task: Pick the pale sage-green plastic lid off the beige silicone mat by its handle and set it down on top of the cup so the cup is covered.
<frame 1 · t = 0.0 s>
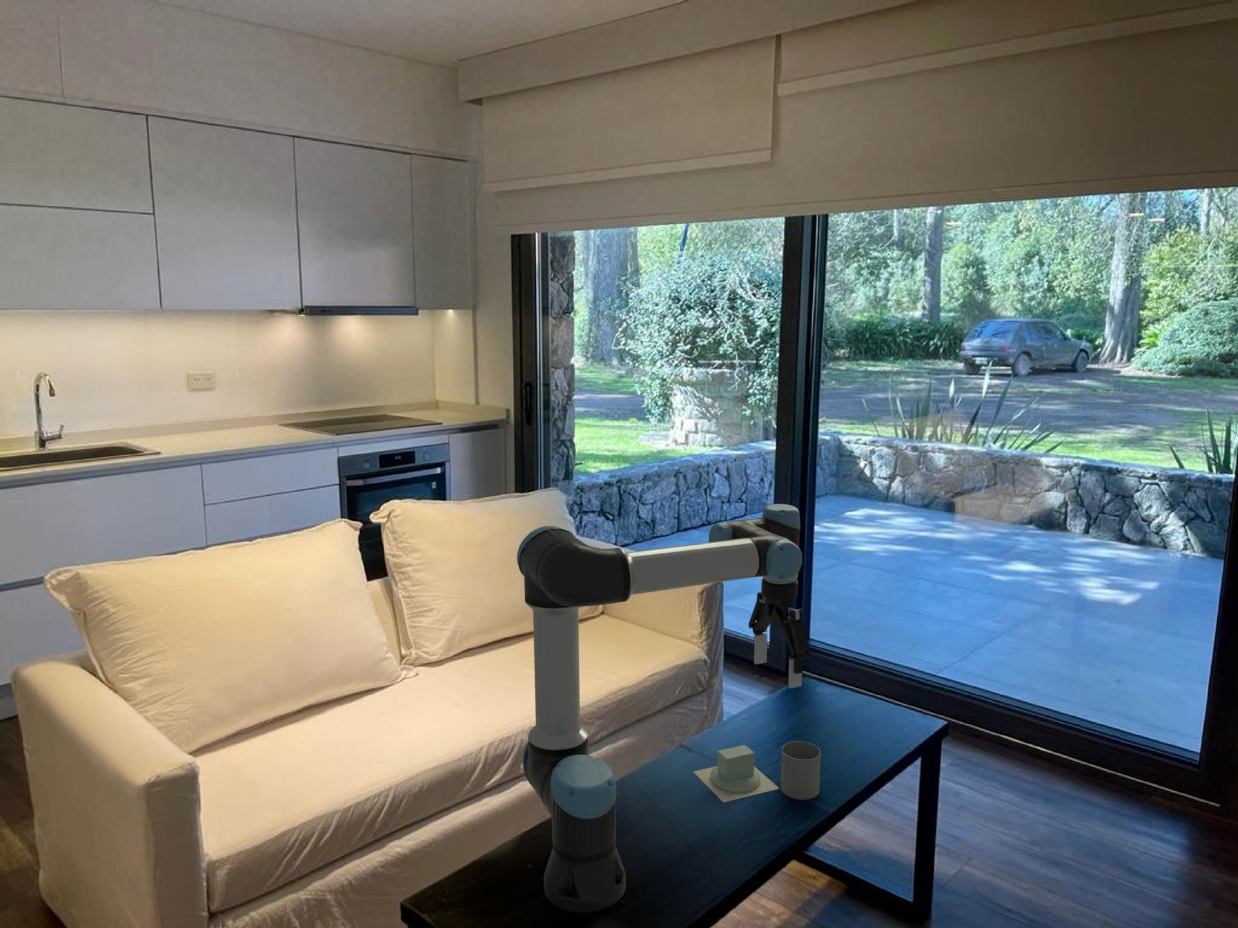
hand: (777, 674, 198), 28 cm above the table, fingers open, 13 cm apart
cup: (799, 793, 204), on the table
mat: (735, 783, 208), on the table
lid: (735, 779, 208), point 1 cm above the table, touching mat
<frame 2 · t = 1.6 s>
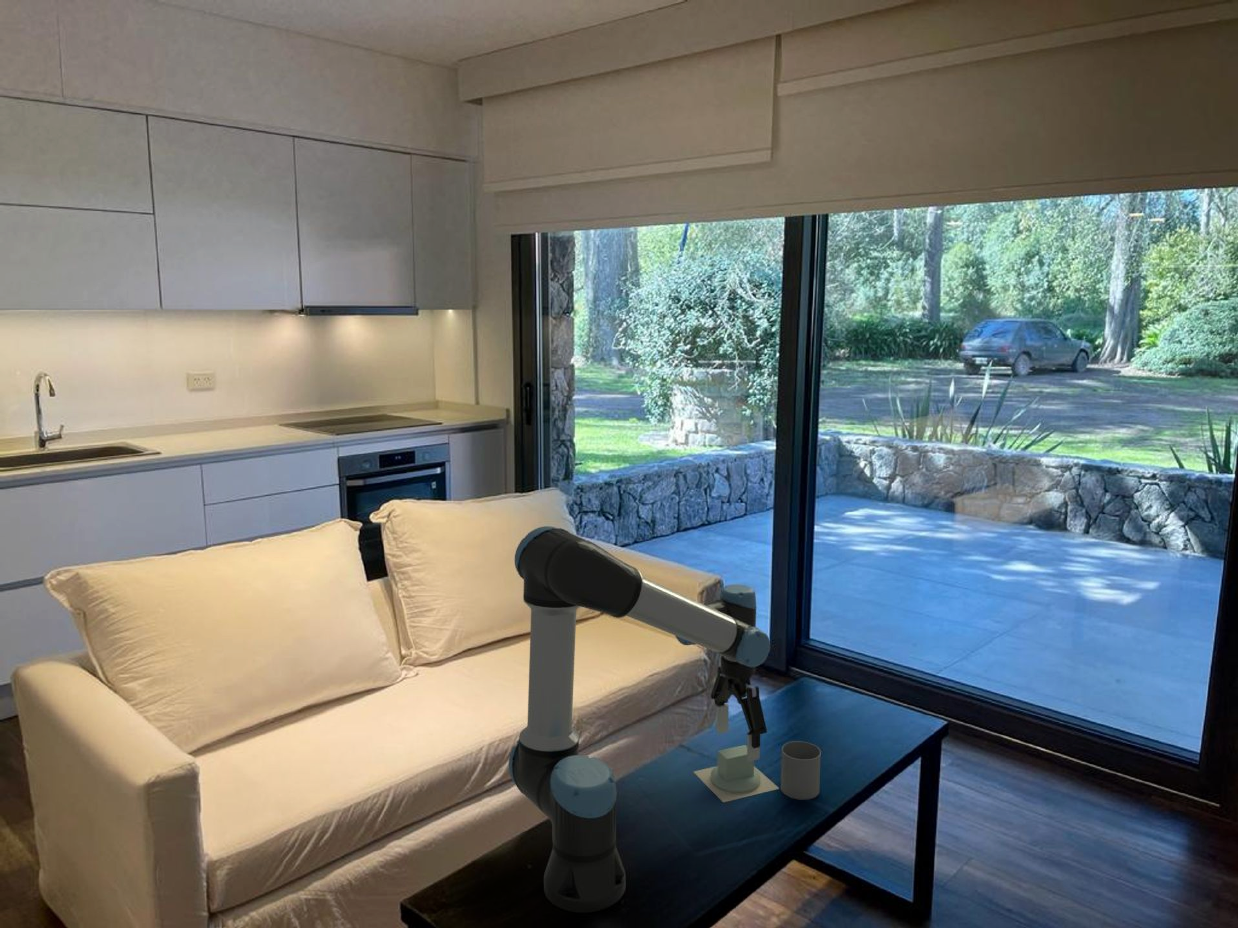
hand: (737, 745, 207), 9 cm above the table, fingers open, 13 cm apart
nothing on the table moved.
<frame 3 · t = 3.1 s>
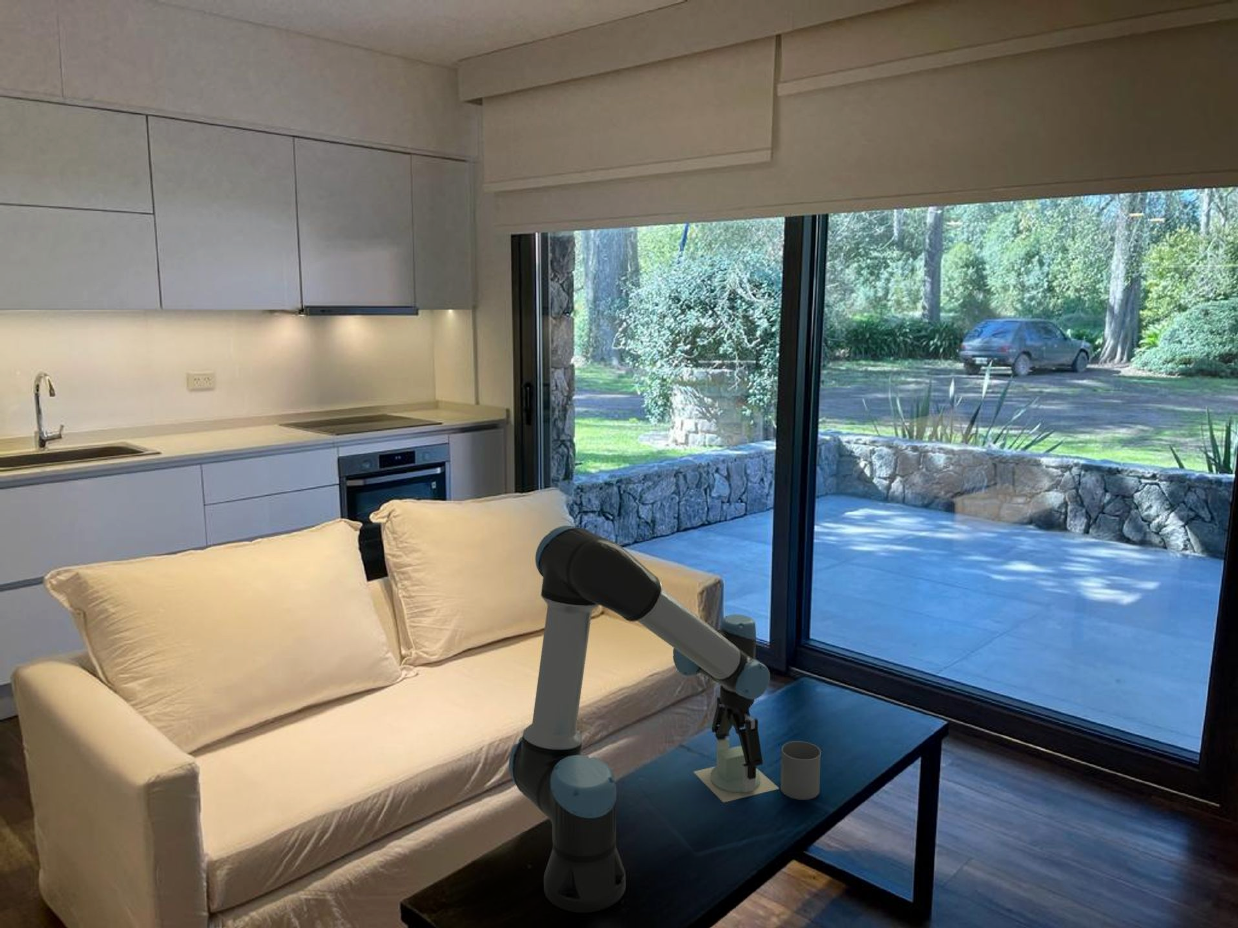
hand: (735, 777, 208), 1 cm above the table, fingers closed on lid, 11 cm apart
lid: (735, 779, 208), point 1 cm above the table, touching gripper, mat
everything else where it was.
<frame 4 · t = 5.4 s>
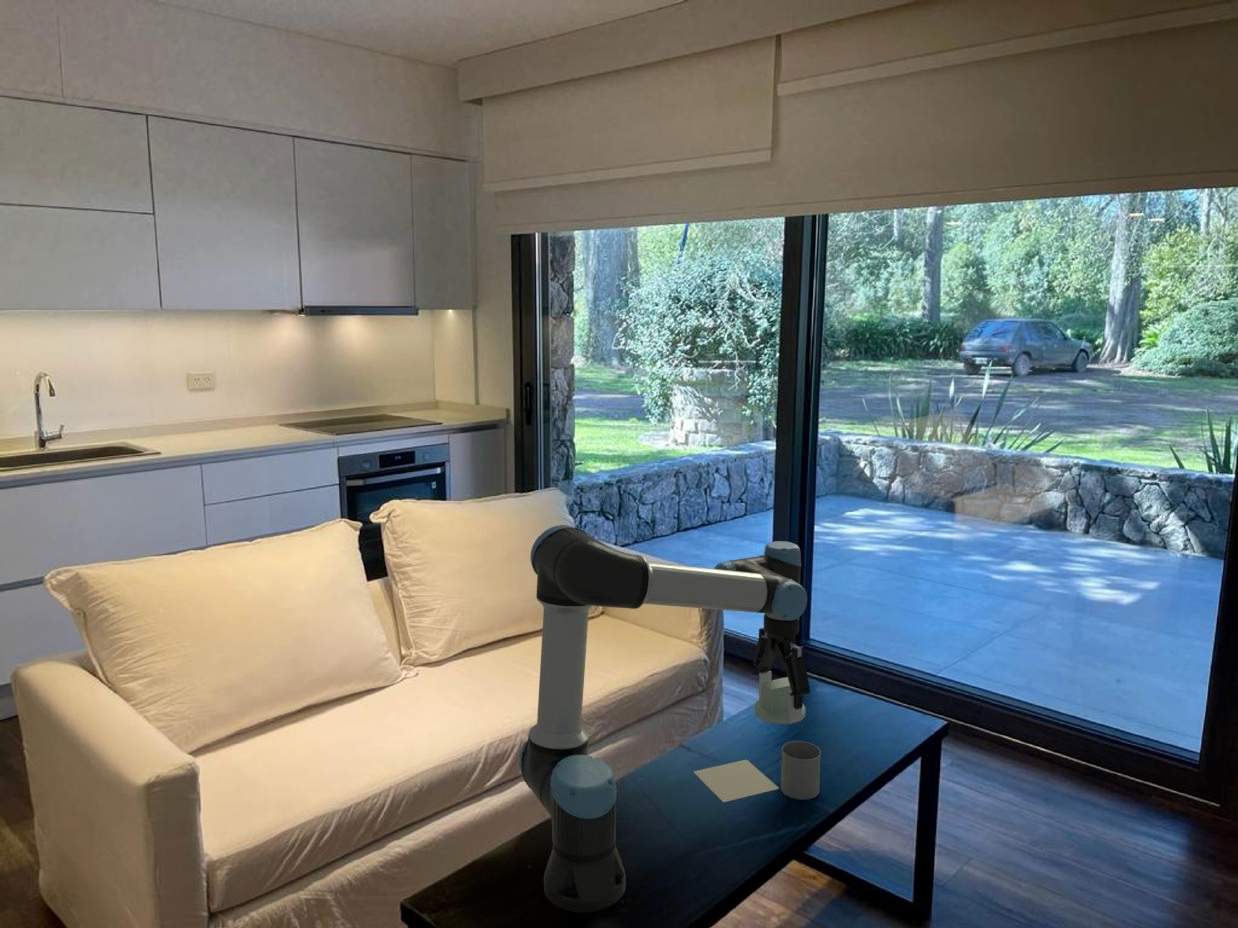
hand: (779, 710, 202), 19 cm above the table, fingers closed on lid, 11 cm apart
lid: (779, 712, 203), point 18 cm above the table, touching gripper
everything else where it was.
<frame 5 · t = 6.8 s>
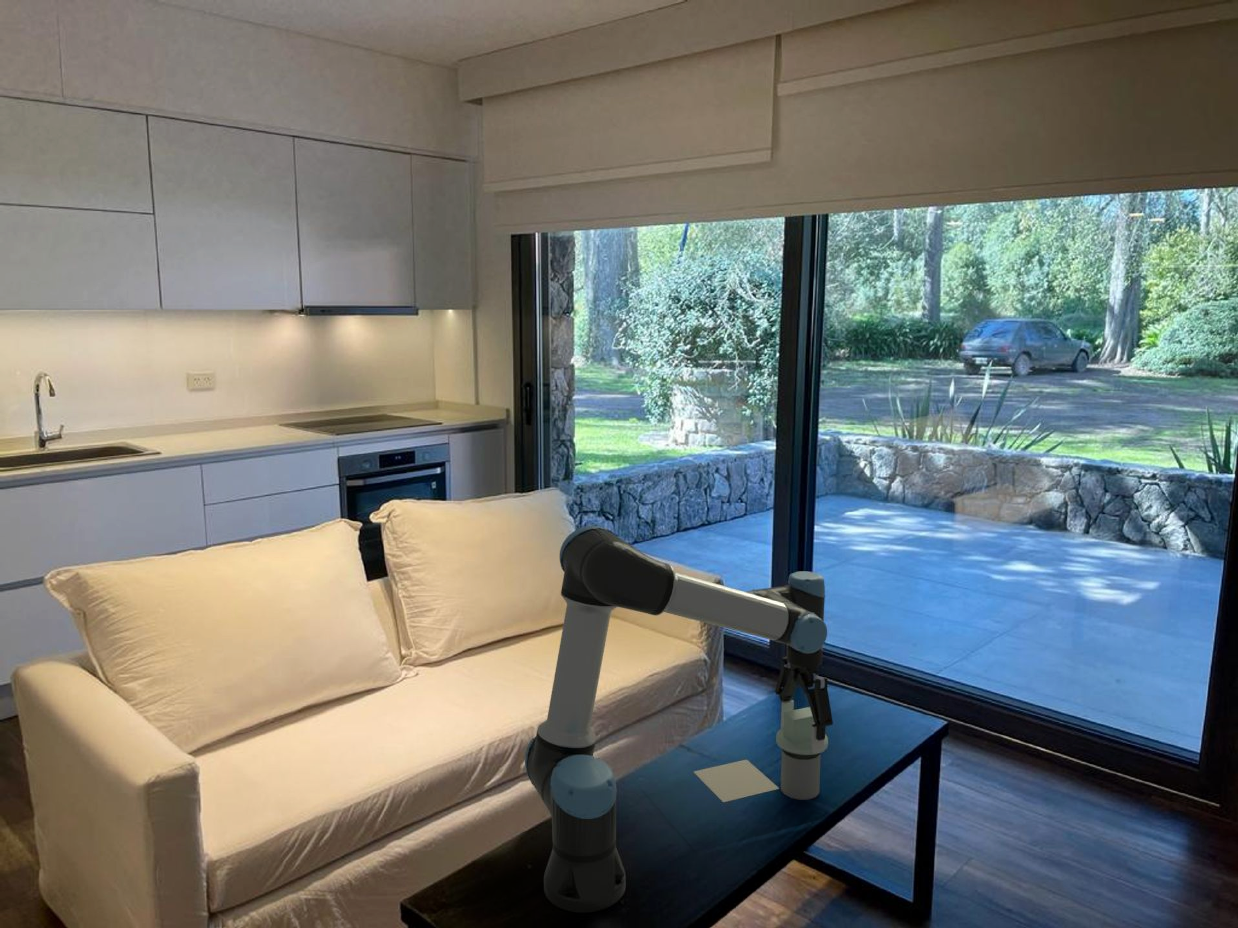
hand: (801, 740, 202), 12 cm above the table, fingers closed on lid, 11 cm apart
lid: (801, 742, 202), point 12 cm above the table, touching gripper
everything else where it was.
when the fingers open (12 cm above the table, at t = 7.8 s): lid drops 1 cm, resting on cup.
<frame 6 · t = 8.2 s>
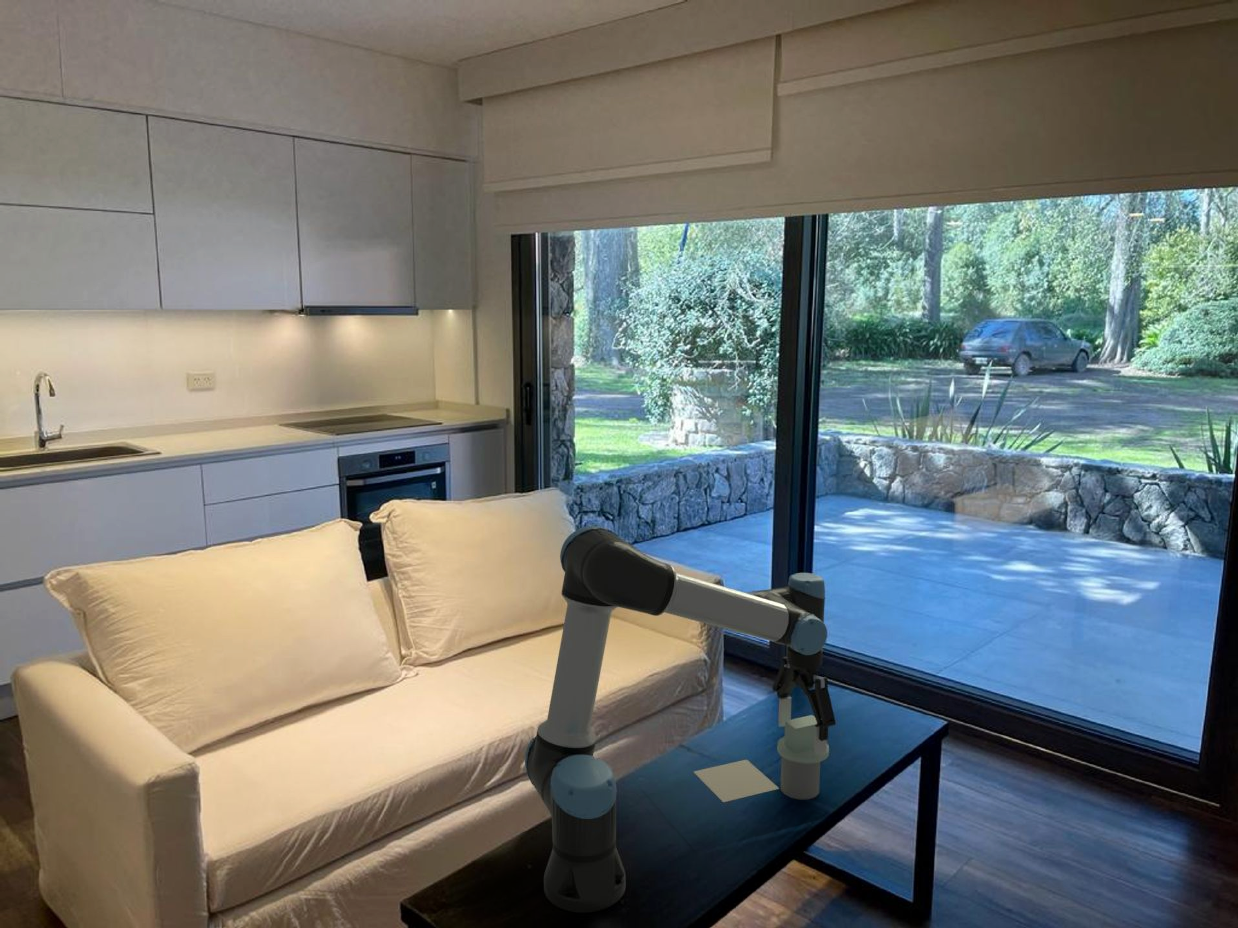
hand: (801, 738, 202), 13 cm above the table, fingers open, 13 cm apart
cup: (799, 793, 204), on the table, touching lid
lid: (802, 750, 202), point 10 cm above the table, touching cup
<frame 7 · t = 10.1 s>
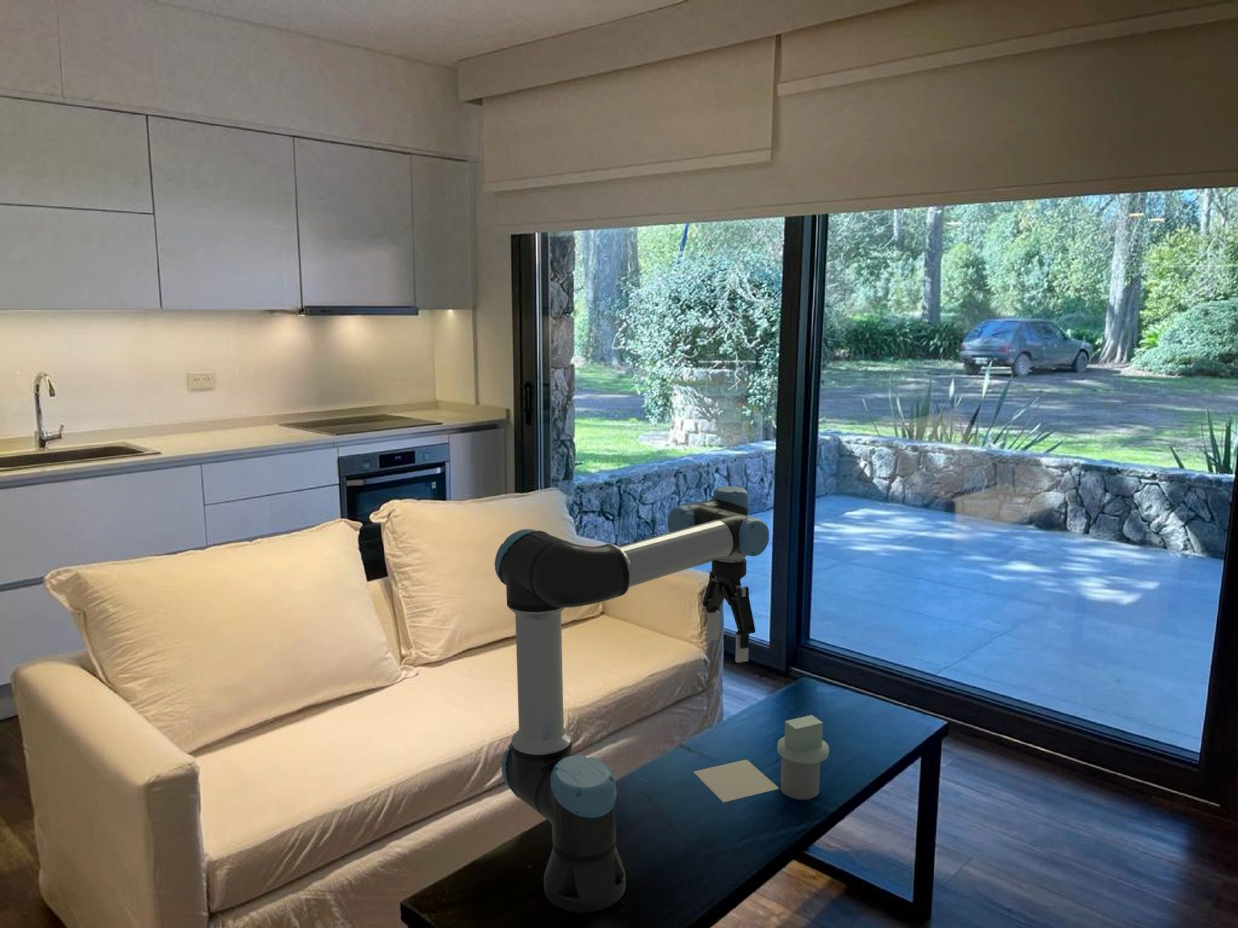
hand: (727, 650, 206), 30 cm above the table, fingers open, 13 cm apart
nothing on the table moved.
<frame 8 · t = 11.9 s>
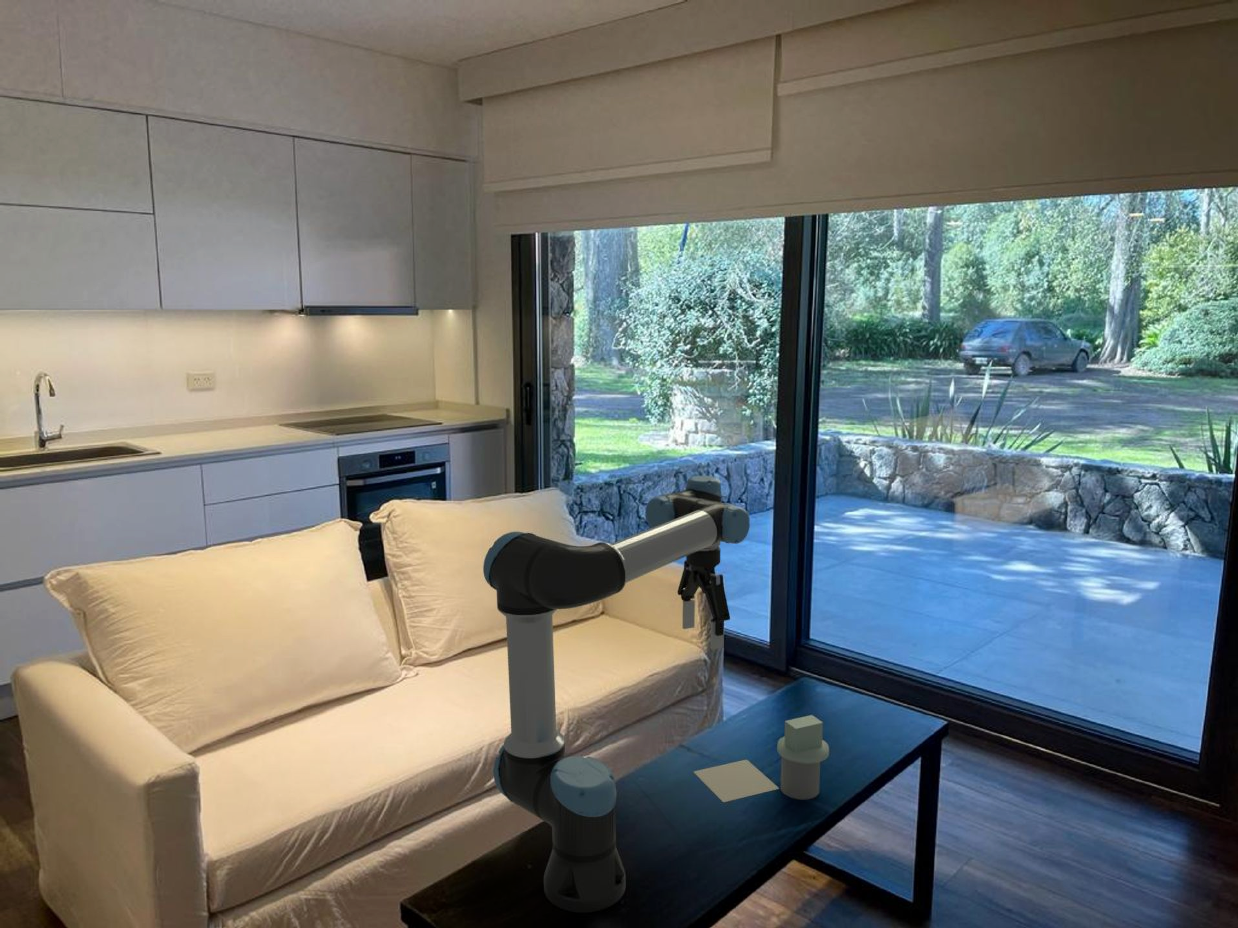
hand: (702, 637, 209), 32 cm above the table, fingers open, 13 cm apart
nothing on the table moved.
at the end: lid 0.4 cm off-centre on the cup, point 10.2 cm above the cup's base; lid tilted 0°; lid touching cup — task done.
